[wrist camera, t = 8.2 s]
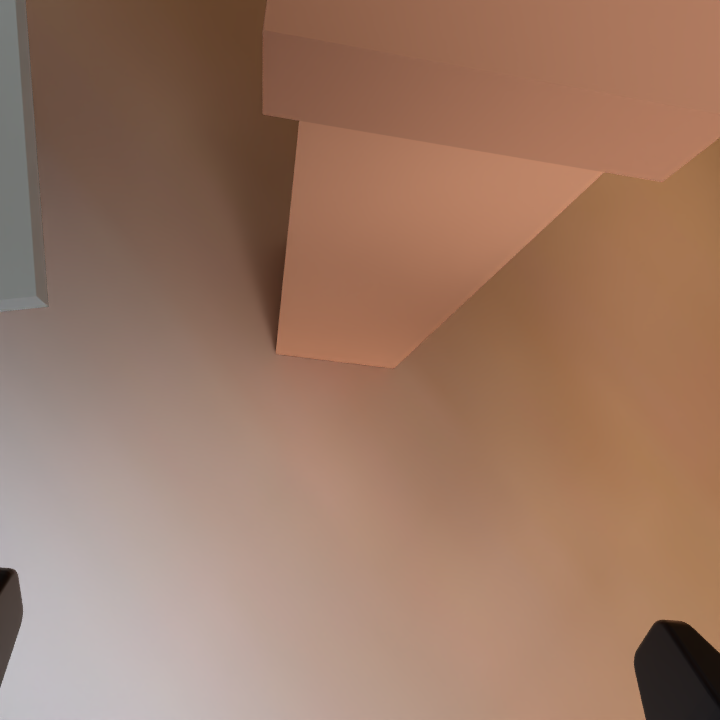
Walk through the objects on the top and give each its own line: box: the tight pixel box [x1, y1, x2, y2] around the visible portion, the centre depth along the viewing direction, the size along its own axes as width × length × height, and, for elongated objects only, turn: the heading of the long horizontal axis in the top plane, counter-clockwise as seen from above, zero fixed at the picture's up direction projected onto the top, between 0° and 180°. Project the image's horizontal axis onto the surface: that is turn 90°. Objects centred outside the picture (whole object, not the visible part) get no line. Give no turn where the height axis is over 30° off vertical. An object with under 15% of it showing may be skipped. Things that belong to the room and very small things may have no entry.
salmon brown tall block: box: [263, 0, 720, 369], centre depth 13 cm, size 4×4×14 cm
